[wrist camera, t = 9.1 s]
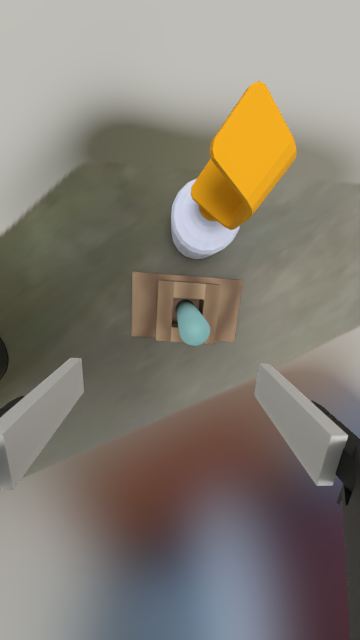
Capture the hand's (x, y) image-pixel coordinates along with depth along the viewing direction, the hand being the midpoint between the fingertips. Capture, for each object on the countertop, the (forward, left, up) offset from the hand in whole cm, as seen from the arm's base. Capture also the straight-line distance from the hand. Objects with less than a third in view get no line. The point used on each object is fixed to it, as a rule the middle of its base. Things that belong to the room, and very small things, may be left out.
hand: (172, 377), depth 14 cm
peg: (+2, +1, -22) cm, 23 cm away
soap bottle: (+3, +15, -24) cm, 28 cm away
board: (+2, +1, -24) cm, 24 cm away
